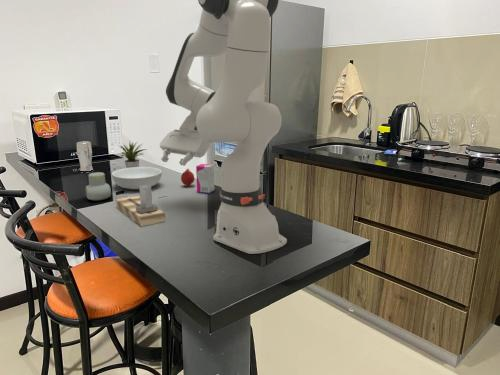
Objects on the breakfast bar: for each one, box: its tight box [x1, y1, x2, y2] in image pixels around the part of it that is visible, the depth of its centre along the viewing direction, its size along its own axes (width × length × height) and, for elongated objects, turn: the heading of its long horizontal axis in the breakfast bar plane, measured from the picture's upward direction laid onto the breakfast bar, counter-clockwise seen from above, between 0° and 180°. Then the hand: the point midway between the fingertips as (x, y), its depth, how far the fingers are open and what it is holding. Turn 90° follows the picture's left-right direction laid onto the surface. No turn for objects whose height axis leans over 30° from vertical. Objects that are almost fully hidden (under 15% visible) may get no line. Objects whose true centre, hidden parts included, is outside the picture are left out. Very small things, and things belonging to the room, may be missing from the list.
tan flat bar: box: [115, 195, 166, 227], centre depth 131 cm, size 24×8×3 cm, turn 37°
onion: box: [180, 168, 195, 187], centre depth 166 cm, size 6×6×8 cm
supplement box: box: [195, 163, 216, 195], centre depth 158 cm, size 6×6×12 cm
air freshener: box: [85, 171, 112, 202], centre depth 148 cm, size 11×8×10 cm
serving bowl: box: [111, 166, 163, 191], centre depth 165 cm, size 21×21×7 cm
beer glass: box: [76, 140, 94, 171], centre depth 193 cm, size 7×7×15 cm
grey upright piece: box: [136, 185, 159, 213], centre depth 124 cm, size 4×6×8 cm, turn 127°
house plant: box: [119, 141, 148, 168], centre depth 189 cm, size 14×14×16 cm
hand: (172, 162), depth 131 cm, fingers open, 8 cm apart
